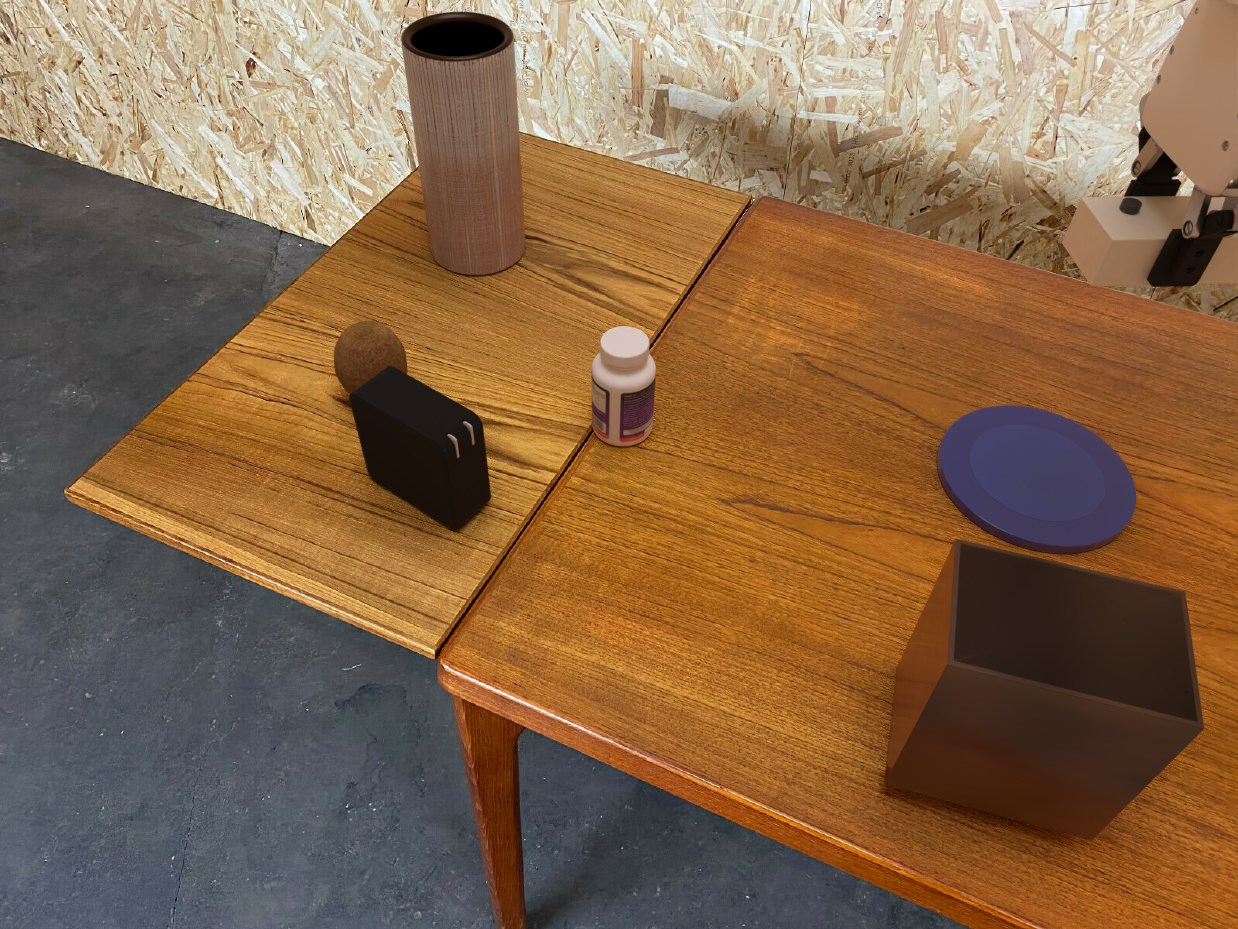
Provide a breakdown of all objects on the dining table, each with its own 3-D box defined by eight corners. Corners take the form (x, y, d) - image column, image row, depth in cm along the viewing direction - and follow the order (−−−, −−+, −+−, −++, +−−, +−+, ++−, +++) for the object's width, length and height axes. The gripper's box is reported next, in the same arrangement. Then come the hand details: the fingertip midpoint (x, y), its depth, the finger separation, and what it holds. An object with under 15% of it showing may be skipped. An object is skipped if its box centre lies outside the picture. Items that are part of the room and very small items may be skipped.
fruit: (329, 396, 86) (309, 326, 80) (385, 363, 89) (371, 294, 83) (370, 431, 83) (354, 362, 77) (427, 396, 86) (415, 327, 80)
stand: (1086, 716, 66) (1185, 591, 55) (1091, 841, 60) (1204, 729, 49) (896, 668, 68) (955, 538, 57) (884, 784, 62) (947, 664, 51)
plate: (1125, 434, 85) (1129, 426, 84) (1139, 574, 74) (1144, 567, 74) (942, 397, 88) (945, 389, 87) (930, 527, 77) (933, 519, 76)
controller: (1201, 241, 66) (1231, 186, 63) (1237, 284, 63) (1271, 228, 60) (1061, 243, 65) (1084, 188, 62) (1090, 286, 62) (1116, 231, 59)
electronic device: (404, 449, 82) (385, 361, 74) (492, 503, 78) (482, 415, 70) (368, 478, 79) (345, 390, 72) (457, 535, 75) (443, 448, 68)
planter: (533, 226, 105) (523, 14, 88) (516, 281, 98) (501, 62, 81) (443, 218, 105) (416, 6, 89) (420, 272, 99) (386, 53, 82)
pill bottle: (658, 410, 86) (664, 325, 78) (645, 453, 82) (651, 368, 75) (599, 400, 86) (600, 315, 79) (584, 442, 83) (584, 356, 76)
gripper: (1473, 35, 45) (1272, 338, 58) (1278, -86, 57) (1147, 189, 70) (1321, 35, 44) (1153, 340, 58) (1156, -86, 56) (1048, 191, 69)
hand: (1151, 255), depth 64 cm, fingers closed on controller, 5 cm apart
